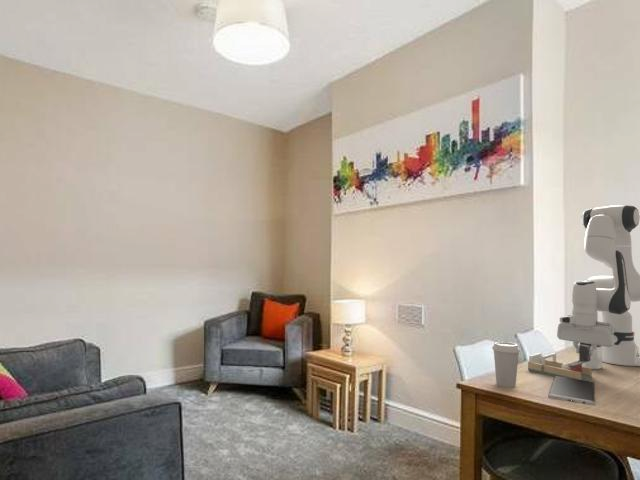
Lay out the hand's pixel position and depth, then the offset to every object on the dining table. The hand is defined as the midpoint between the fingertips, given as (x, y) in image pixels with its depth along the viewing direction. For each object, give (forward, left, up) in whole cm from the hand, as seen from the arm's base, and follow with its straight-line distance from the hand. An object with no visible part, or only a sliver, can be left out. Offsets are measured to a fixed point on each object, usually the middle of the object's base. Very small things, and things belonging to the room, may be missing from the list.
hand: (584, 354), depth 178 cm
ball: (+8, -4, -5) cm, 10 cm away
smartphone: (+27, +6, -9) cm, 29 cm away
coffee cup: (+41, -12, -8) cm, 43 cm away
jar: (-15, -4, -8) cm, 18 cm away
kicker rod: (+6, 0, -7) cm, 9 cm away
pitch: (+8, -7, -8) cm, 13 cm away
